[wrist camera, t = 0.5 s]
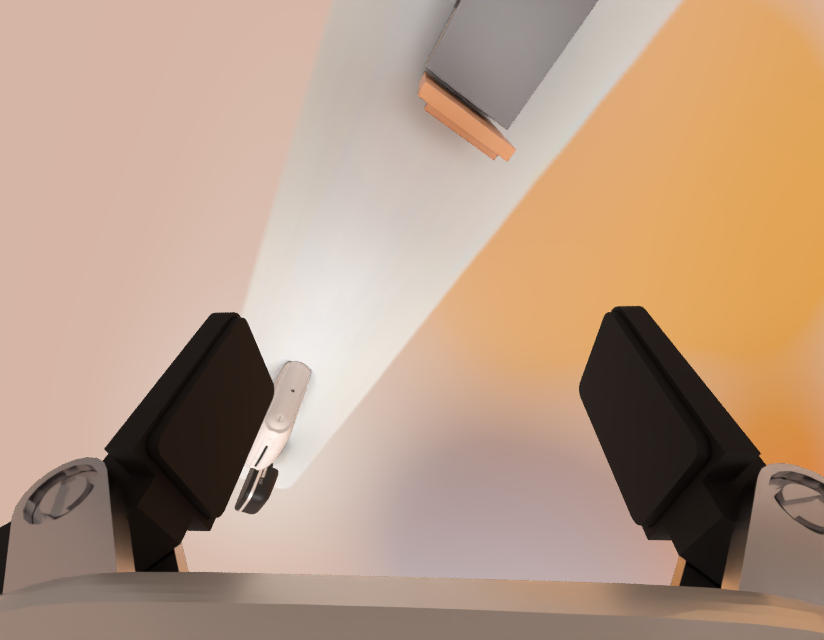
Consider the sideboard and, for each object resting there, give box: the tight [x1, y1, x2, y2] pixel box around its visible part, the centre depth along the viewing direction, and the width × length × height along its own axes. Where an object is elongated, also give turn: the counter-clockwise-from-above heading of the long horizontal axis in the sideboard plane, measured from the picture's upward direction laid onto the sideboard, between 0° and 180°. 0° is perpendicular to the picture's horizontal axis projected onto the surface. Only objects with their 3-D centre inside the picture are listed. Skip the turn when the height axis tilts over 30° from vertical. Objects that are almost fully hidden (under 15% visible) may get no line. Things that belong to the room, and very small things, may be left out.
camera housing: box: [426, 0, 598, 130], centre depth 25 cm, size 10×7×8 cm
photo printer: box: [245, 361, 311, 470], centre depth 48 cm, size 10×4×12 cm, turn 150°
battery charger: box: [235, 463, 278, 514], centre depth 58 cm, size 7×4×11 cm, turn 148°
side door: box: [418, 71, 516, 161], centre depth 26 cm, size 1×7×12 cm, turn 58°
